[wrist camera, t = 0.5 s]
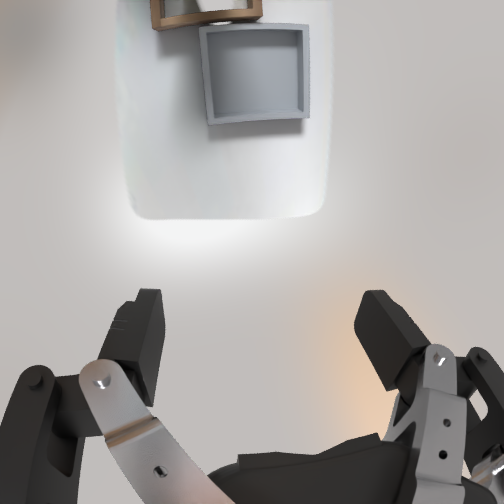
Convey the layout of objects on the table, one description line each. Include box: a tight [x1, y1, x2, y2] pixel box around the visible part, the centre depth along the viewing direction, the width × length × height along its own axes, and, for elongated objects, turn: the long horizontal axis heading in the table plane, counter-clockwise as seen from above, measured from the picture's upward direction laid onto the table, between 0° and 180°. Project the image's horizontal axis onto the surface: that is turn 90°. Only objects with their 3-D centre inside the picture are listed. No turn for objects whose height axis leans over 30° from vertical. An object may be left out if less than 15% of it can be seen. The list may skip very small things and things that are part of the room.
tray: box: [199, 23, 310, 125], centre depth 28 cm, size 13×13×3 cm
